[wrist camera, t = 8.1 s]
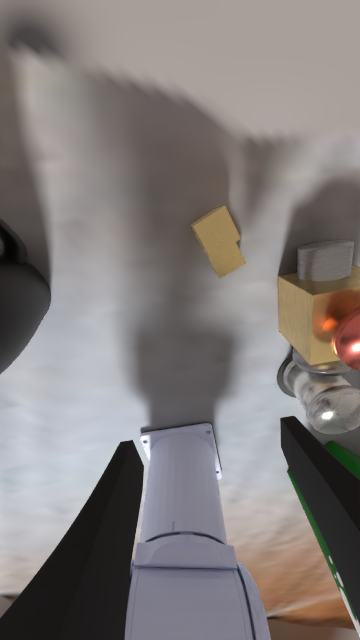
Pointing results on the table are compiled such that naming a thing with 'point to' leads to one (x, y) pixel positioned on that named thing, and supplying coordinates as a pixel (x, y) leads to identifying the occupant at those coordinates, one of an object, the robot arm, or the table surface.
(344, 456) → the milk carton
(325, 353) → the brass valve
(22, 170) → the table surface
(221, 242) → the elbow
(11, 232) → the mug
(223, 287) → the table surface
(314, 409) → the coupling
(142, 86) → the table surface
